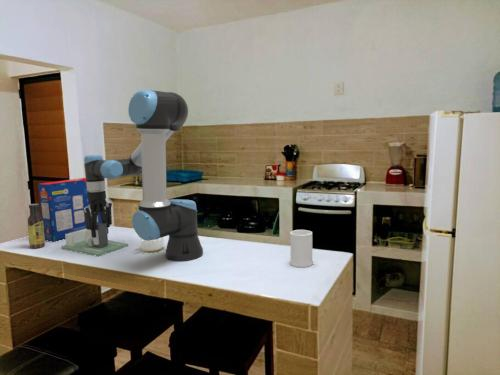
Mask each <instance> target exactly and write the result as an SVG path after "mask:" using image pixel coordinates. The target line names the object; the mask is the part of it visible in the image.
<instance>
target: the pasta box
mask: <svg viewBox="0 0 500 375" xmlns="http://www.w3.org/2000/svg"><path fill="white" fill-rule="evenodd" d="M37 185H38V195H39V206H40V215H41V218H42V220H43V225H44V236H45V241H46V240H48V241H47V242H50V241H52V242H51V243H57V242H60V241H59V240H61V241H63V239H64V240H66V238H65V234H68V233H72V232H76V231H80V230H83V229H86V221H85V213H84V211H83V208H85V207H87V206H88V203H89V201H88V197H87V193H88V192H89V191H87V186H86V177H81V178H80V177H79V178H74V179H64V180H57V181H48V182H41V183H38V184H37ZM90 213H91V209H90ZM94 213H95V212H94ZM100 222H101V223H102V220H101V217H100V213H99V212H98V215H97V223H100ZM56 241H57V242H56Z"/></svg>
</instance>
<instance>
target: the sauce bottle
mask: <svg viewBox="0 0 500 375" xmlns="http://www.w3.org/2000/svg"><path fill="white" fill-rule="evenodd" d="M28 208H29V216H28V218H27V230H28V231H27V232H28V242H29V248H30V249H38V248H39V249H40V248H43V247H45V245H46V240H45V236H44V225H43V220H42V214H41V211H40V203H31V204H28Z"/></svg>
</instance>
